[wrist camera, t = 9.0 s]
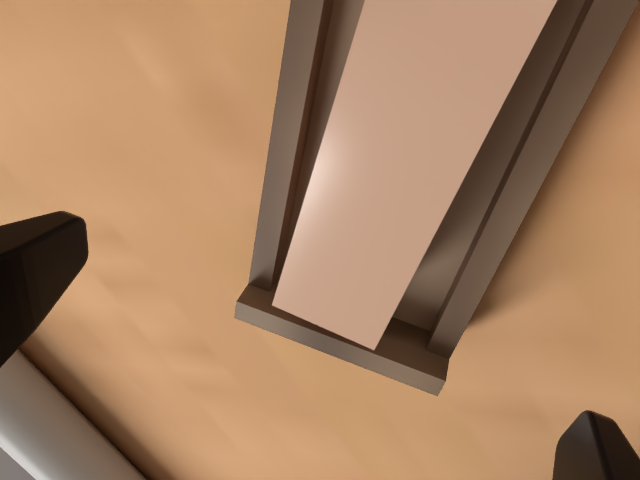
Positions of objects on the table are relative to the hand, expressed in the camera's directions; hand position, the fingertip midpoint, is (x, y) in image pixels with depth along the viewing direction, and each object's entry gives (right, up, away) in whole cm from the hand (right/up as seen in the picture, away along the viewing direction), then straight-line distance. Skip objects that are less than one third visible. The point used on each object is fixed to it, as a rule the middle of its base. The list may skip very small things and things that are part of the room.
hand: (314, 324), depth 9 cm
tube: (-17, -13, +31) cm, 38 cm away
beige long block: (+3, +6, +8) cm, 11 cm away
